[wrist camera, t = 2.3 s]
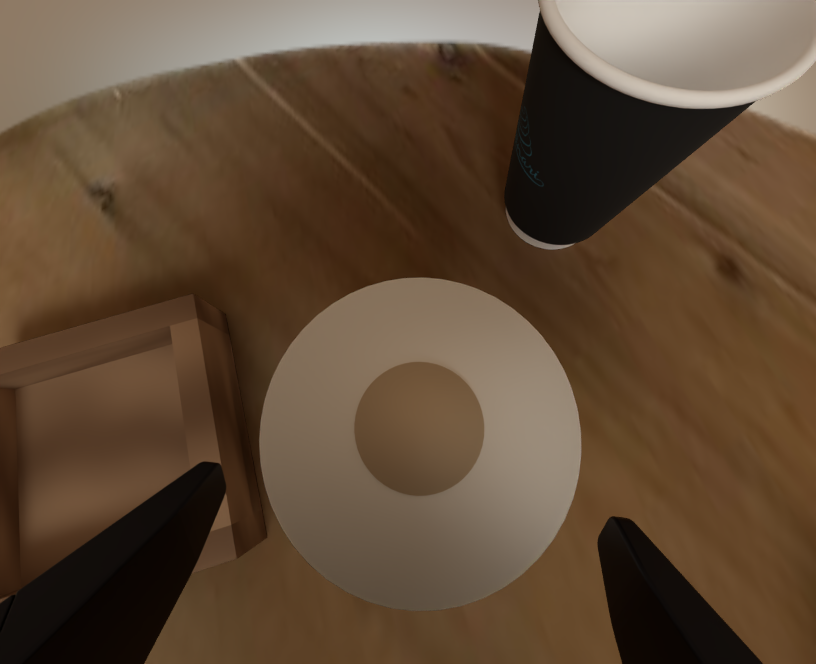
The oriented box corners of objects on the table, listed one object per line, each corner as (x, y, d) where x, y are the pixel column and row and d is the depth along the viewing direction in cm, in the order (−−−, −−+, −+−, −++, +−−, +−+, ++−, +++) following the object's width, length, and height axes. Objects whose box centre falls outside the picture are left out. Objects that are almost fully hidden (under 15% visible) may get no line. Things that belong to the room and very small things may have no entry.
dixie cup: (651, 213, 21) (896, -14, 10) (554, 306, 20) (719, 155, 9) (543, 127, 23) (659, -147, 12) (447, 207, 21) (480, -20, 11)
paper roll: (435, 518, 17) (482, 699, 5) (336, 450, 18) (189, 480, 6) (494, 412, 18) (637, 374, 7) (398, 353, 19) (373, 226, 7)
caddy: (266, 537, 17) (236, 558, 14) (16, 618, 16) (-69, 658, 13) (225, 314, 20) (193, 293, 17) (10, 375, 19) (-62, 365, 16)
